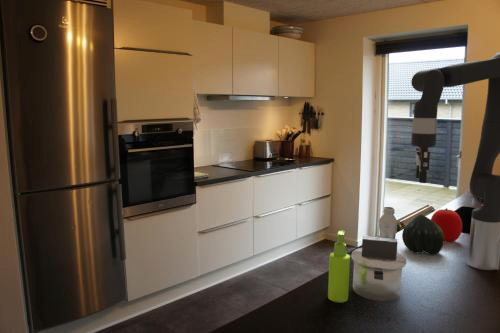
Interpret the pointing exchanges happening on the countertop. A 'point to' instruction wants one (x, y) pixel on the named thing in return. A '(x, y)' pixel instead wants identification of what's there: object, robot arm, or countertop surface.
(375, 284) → the cooker pot
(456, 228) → the tomato
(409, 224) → the squash
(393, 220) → the plastic bottle
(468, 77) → the robot arm
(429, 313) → the countertop surface
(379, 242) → the cooker lid
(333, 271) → the soap dispenser
